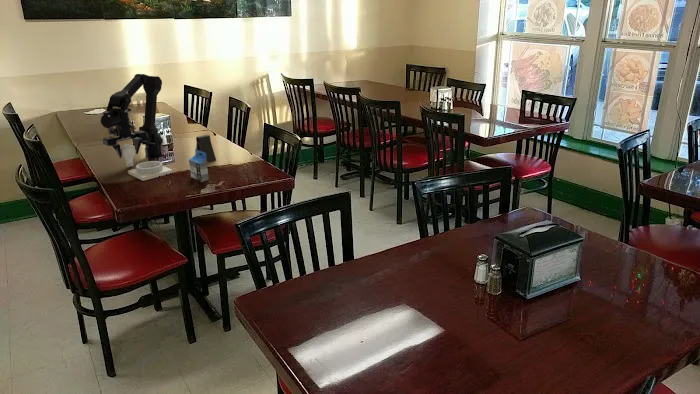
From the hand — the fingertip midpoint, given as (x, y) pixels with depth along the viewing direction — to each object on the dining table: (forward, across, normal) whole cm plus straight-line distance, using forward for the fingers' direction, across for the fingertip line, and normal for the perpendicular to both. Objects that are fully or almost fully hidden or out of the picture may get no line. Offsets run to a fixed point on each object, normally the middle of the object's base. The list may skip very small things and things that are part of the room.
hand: (128, 155), depth 237 cm
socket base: (+6, -2, +15) cm, 16 cm away
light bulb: (+6, 0, 0) cm, 6 cm away
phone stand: (+6, -30, +16) cm, 34 cm away
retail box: (+6, -13, +38) cm, 41 cm away
